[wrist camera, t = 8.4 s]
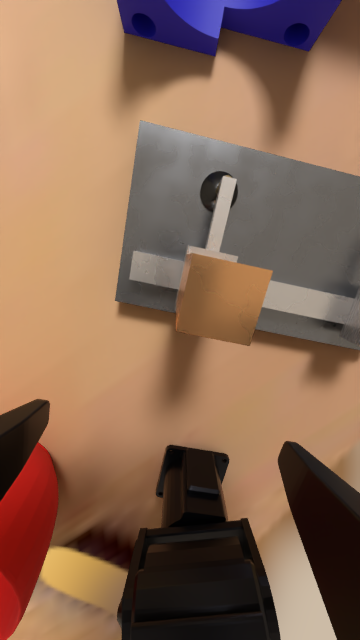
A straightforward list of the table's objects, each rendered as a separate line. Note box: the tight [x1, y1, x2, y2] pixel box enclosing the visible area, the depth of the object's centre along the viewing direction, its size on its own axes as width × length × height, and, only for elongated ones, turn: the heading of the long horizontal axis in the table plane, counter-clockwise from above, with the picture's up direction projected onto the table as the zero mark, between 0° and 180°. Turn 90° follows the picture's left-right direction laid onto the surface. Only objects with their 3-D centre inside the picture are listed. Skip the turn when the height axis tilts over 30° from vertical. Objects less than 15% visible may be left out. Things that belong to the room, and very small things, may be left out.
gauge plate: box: [115, 120, 360, 350], centre depth 16 cm, size 12×22×5 cm, turn 78°
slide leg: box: [175, 175, 273, 346], centre depth 12 cm, size 8×3×9 cm, turn 168°
